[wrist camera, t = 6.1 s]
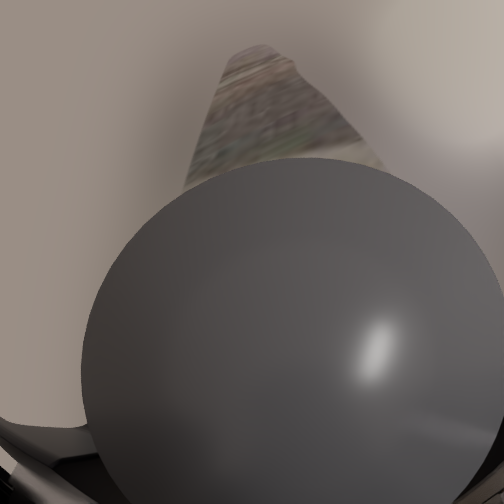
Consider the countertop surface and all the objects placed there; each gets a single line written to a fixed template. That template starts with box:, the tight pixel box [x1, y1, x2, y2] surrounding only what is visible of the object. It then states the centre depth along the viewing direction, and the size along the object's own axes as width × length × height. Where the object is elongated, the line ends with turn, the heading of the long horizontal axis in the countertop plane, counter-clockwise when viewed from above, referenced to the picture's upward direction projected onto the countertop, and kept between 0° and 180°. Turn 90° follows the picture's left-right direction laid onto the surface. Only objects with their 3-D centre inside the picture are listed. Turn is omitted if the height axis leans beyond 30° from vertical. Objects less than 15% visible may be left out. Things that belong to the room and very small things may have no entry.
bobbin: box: [81, 158, 504, 504], centre depth 8 cm, size 6×6×13 cm
